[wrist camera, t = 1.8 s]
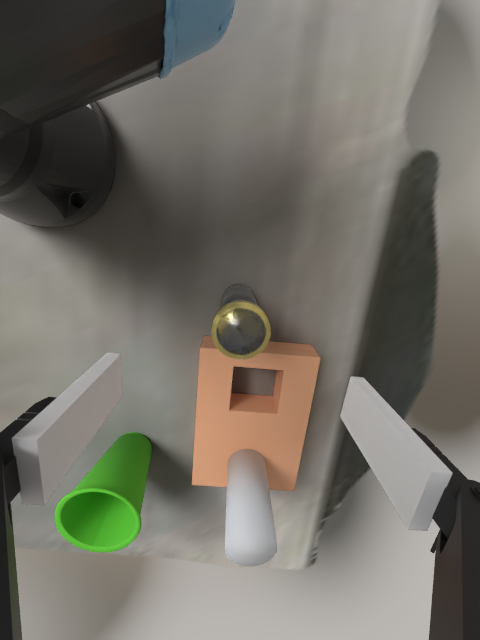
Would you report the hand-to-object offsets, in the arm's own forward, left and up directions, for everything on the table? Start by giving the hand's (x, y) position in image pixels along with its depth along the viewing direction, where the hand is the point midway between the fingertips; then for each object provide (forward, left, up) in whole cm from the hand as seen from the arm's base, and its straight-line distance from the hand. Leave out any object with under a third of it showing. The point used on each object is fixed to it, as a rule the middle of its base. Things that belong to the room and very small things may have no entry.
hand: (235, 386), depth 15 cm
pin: (-1, 0, -19) cm, 19 cm away
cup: (+22, -13, -19) cm, 32 cm away
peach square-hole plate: (+14, +3, -19) cm, 24 cm away
